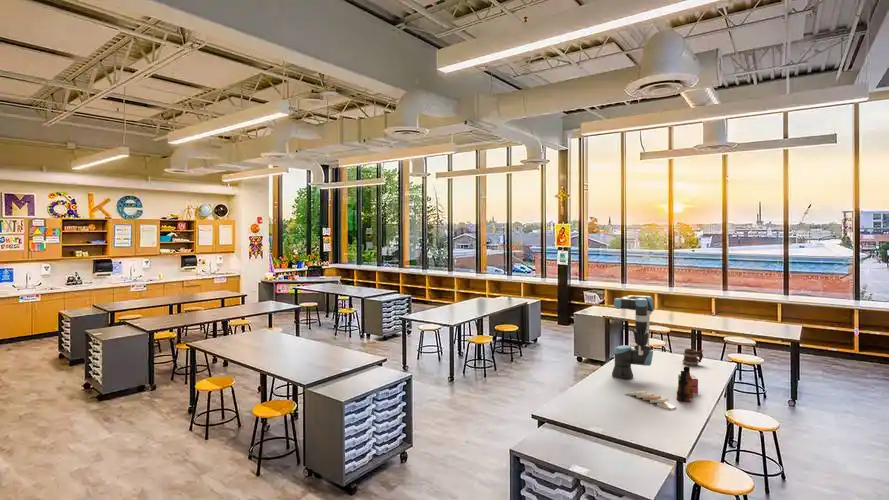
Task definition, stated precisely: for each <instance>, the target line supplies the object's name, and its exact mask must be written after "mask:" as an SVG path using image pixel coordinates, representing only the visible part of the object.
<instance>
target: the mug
mask: <svg viewBox="0 0 889 500" xmlns="http://www.w3.org/2000/svg"><path fill="white" fill-rule="evenodd" d="M703 352H704V350H703V349H701V350H699V351H697V350H696V349H693V348H685V349H684V352H683V353H682V354H683V356H684V357H683V359H682V363H683V365H686V366H688V367H694V366H695V367H696V366H698V364H699V363H701V362H702V359H703V357H704V355H703V354H704V353H703ZM698 356H699V357H698Z"/></svg>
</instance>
